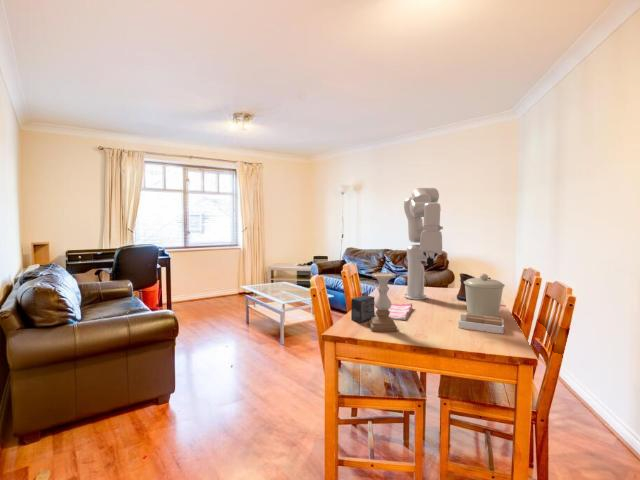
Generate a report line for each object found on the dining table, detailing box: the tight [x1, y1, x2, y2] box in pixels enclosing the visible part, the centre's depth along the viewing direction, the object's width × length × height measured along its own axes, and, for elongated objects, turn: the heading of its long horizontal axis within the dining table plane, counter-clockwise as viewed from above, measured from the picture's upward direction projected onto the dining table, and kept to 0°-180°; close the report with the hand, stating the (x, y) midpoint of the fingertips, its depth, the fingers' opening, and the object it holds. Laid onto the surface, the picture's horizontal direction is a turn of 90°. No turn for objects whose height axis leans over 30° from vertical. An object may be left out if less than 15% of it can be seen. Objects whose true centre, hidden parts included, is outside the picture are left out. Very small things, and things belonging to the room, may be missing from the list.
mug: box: [456, 272, 492, 302], centre depth 203 cm, size 18×12×15 cm, turn 56°
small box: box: [350, 294, 375, 324], centre depth 168 cm, size 11×6×10 cm, turn 134°
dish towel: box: [374, 302, 413, 321], centre depth 179 cm, size 17×23×4 cm
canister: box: [464, 273, 506, 317], centre depth 171 cm, size 18×18×21 cm
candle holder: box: [368, 271, 398, 333], centre depth 155 cm, size 11×11×24 cm
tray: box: [457, 313, 505, 335], centre depth 157 cm, size 13×18×3 cm
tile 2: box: [484, 316, 503, 326], centre depth 155 cm, size 7×7×4 cm
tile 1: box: [465, 313, 484, 324], centre depth 158 cm, size 7×7×4 cm
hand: (430, 266), depth 172 cm, fingers closed
